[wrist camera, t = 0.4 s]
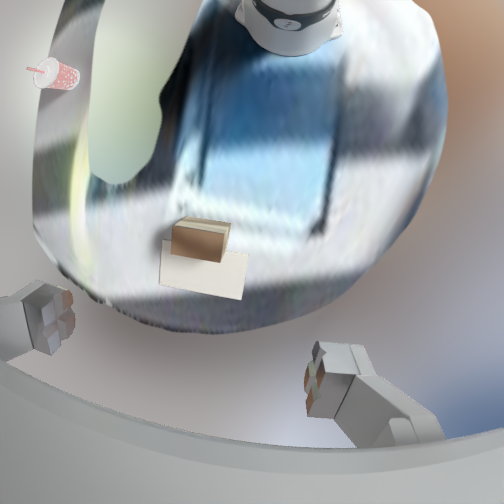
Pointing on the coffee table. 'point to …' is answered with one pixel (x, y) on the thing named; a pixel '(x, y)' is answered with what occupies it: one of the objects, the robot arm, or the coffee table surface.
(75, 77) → the beverage cup
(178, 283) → the pad
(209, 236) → the block
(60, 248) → the coffee table surface
